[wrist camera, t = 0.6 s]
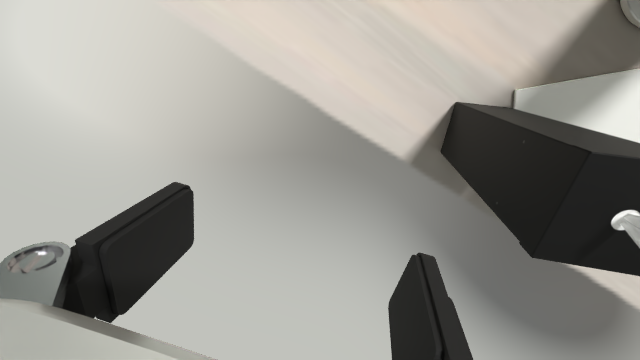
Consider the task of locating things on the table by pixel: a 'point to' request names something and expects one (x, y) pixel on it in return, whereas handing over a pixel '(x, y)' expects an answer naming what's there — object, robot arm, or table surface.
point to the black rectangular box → (552, 184)
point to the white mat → (589, 103)
